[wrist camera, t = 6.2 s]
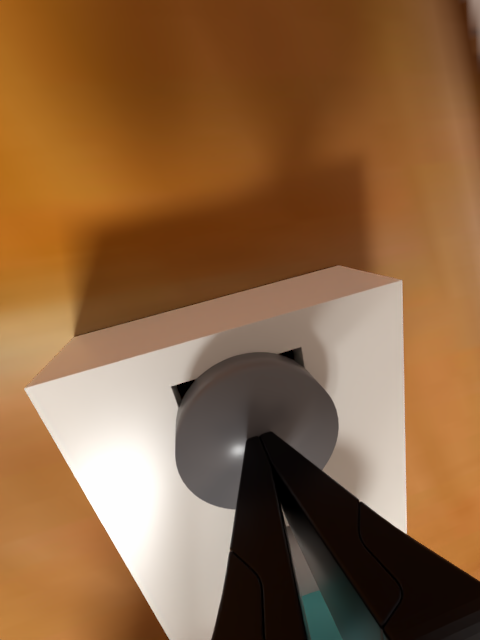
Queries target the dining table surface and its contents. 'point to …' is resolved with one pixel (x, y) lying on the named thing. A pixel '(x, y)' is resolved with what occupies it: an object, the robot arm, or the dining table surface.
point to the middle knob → (312, 598)
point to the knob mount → (164, 400)
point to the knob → (249, 420)
